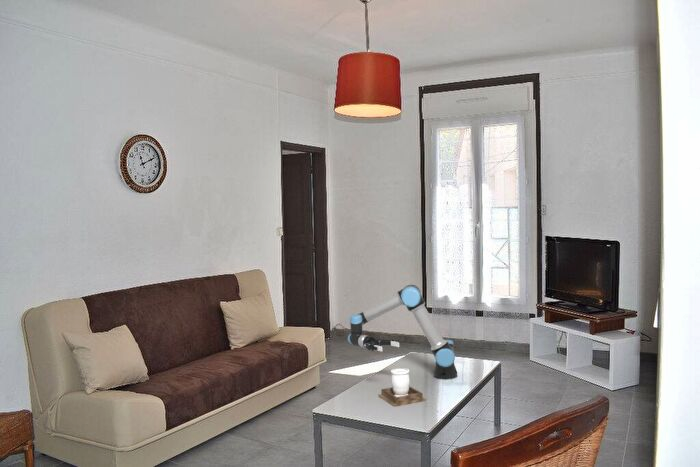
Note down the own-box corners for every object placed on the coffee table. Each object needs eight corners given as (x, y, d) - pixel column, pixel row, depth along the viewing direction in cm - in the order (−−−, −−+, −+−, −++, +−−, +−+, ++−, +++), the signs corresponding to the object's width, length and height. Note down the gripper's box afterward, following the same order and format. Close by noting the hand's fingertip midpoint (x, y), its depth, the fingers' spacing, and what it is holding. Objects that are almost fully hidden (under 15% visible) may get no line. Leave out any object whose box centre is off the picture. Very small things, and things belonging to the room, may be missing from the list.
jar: (407, 400, 305) (406, 373, 304) (389, 398, 309) (388, 372, 308) (412, 394, 315) (411, 368, 314) (395, 392, 318) (394, 367, 318)
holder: (408, 390, 324) (408, 383, 324) (426, 400, 306) (425, 393, 306) (378, 396, 317) (378, 389, 317) (394, 406, 298) (393, 399, 298)
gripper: (382, 344, 346) (405, 349, 330) (351, 351, 331) (374, 357, 314) (381, 332, 346) (405, 336, 330) (351, 339, 331) (374, 344, 314)
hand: (390, 346), depth 322 cm, fingers open, 13 cm apart
